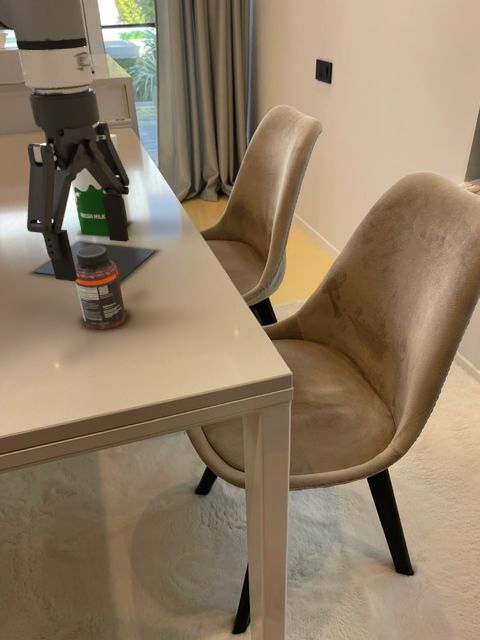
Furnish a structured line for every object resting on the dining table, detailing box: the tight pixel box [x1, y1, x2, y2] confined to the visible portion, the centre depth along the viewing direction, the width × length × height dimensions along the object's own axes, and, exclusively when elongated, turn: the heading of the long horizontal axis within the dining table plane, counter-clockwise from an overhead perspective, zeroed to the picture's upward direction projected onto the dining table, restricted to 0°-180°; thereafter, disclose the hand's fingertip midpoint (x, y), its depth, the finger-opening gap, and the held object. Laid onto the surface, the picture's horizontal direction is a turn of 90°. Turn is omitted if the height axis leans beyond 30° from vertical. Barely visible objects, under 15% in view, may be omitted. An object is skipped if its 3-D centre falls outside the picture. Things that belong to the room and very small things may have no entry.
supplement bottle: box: [74, 245, 126, 331], centre depth 79 cm, size 6×6×11 cm
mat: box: [34, 241, 156, 283], centre depth 99 cm, size 16×14×1 cm
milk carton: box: [71, 133, 129, 237], centre depth 108 cm, size 9×9×20 cm
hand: (94, 258), depth 77 cm, fingers open, 13 cm apart
